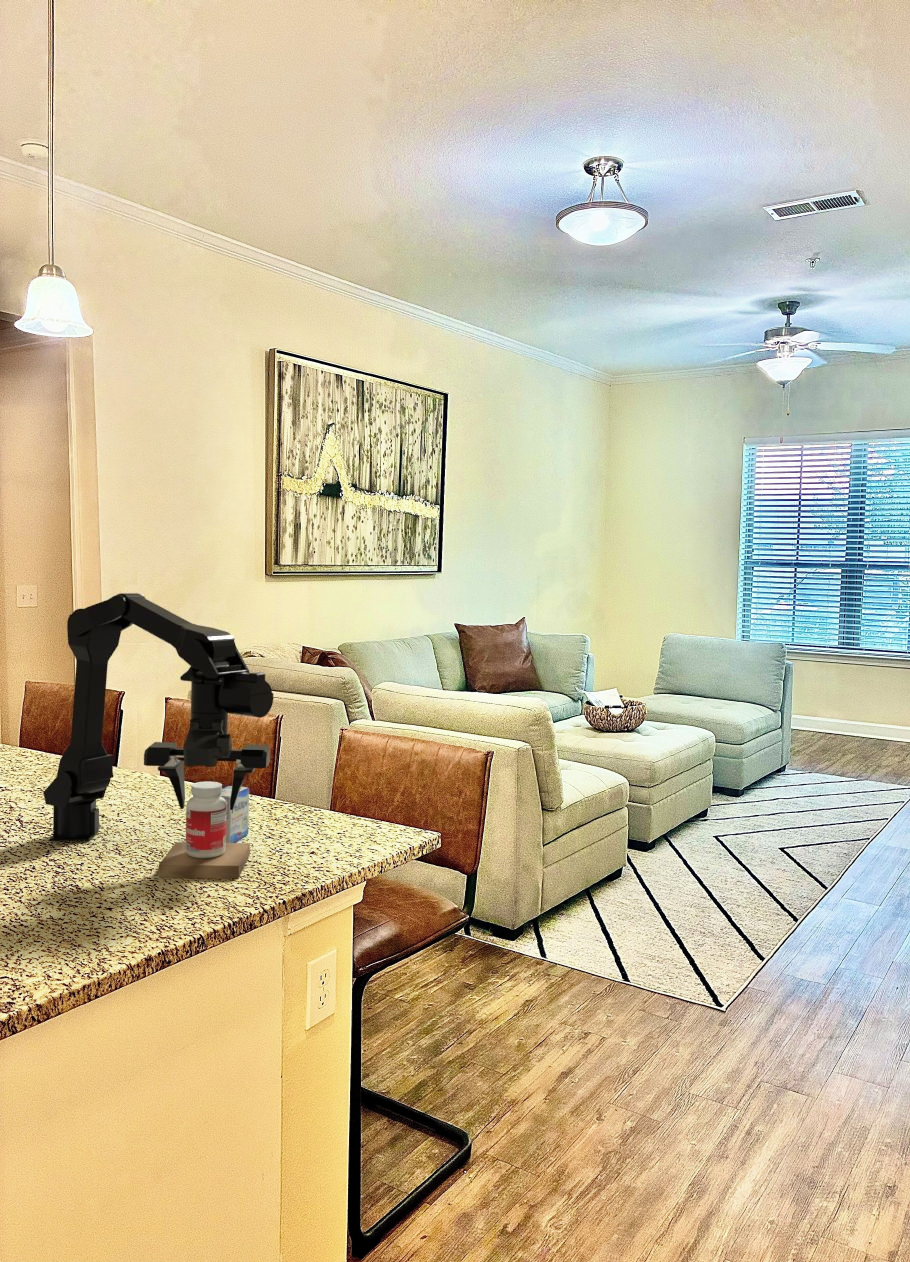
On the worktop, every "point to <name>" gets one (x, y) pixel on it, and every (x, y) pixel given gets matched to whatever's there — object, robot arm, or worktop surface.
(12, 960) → the worktop surface
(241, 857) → the walnut plinth
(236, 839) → the medicine box
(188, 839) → the pill bottle
